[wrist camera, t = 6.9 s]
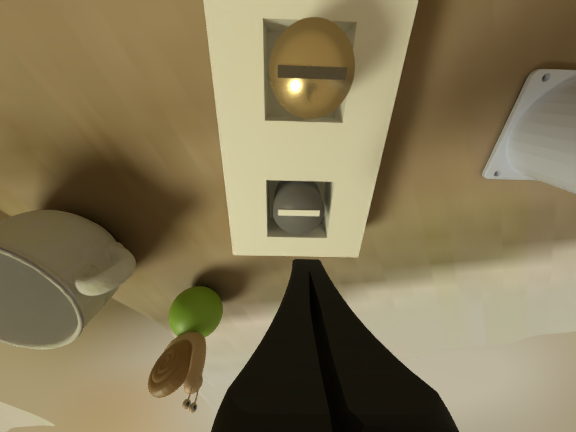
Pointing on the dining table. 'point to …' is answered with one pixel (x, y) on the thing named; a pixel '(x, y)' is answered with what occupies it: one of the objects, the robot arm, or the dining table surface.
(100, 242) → the teacup
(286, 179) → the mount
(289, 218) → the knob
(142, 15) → the dining table surface
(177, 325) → the snail figurine
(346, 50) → the knob brass
